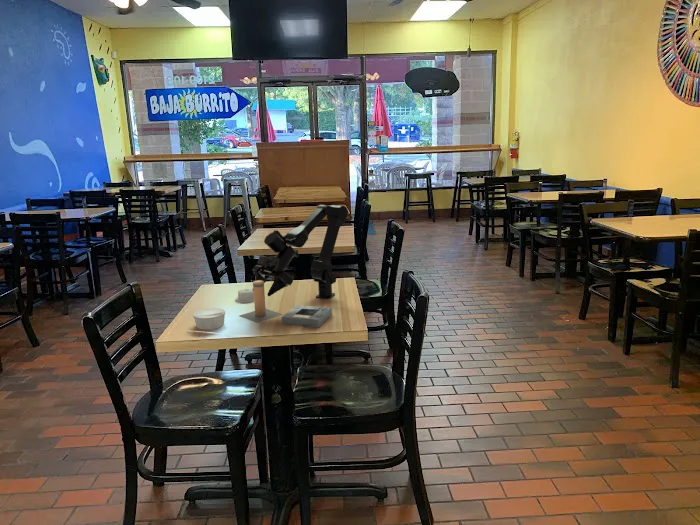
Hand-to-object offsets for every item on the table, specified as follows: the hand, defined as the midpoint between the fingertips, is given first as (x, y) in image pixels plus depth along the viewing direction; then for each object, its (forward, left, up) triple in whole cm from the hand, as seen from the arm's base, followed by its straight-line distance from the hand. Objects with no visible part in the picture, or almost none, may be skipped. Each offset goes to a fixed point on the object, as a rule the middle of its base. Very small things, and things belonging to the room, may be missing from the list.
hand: (260, 293), depth 200 cm
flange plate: (+1, +19, -9) cm, 21 cm away
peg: (+1, 0, -8) cm, 8 cm away
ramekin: (+15, -13, -9) cm, 22 cm away
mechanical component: (-17, -15, -9) cm, 25 cm away
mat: (+1, 0, -9) cm, 9 cm away
